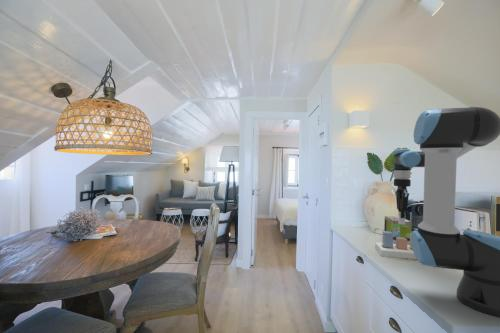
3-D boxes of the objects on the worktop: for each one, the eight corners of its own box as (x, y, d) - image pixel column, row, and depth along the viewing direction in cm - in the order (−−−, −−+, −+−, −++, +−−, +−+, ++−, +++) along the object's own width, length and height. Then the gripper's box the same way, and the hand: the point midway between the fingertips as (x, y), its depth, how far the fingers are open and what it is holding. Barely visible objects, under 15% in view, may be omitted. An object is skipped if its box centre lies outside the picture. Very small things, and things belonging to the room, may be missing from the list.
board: (431, 261, 118) (431, 254, 118) (381, 256, 124) (381, 250, 124) (419, 251, 132) (419, 245, 132) (375, 247, 137) (375, 242, 137)
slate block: (393, 247, 127) (393, 233, 127) (384, 246, 128) (384, 232, 128) (390, 244, 131) (390, 231, 131) (382, 244, 132) (382, 231, 132)
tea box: (411, 247, 139) (412, 221, 139) (392, 246, 141) (392, 220, 141) (401, 239, 153) (401, 216, 153) (383, 238, 155) (383, 215, 155)
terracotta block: (407, 253, 125) (407, 239, 125) (398, 252, 126) (398, 238, 126) (404, 250, 129) (404, 237, 129) (395, 250, 130) (396, 236, 130)
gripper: (415, 179, 121) (414, 227, 120) (405, 178, 133) (405, 222, 133) (398, 178, 123) (397, 226, 122) (390, 178, 135) (390, 221, 135)
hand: (401, 223), depth 127 cm, fingers closed
